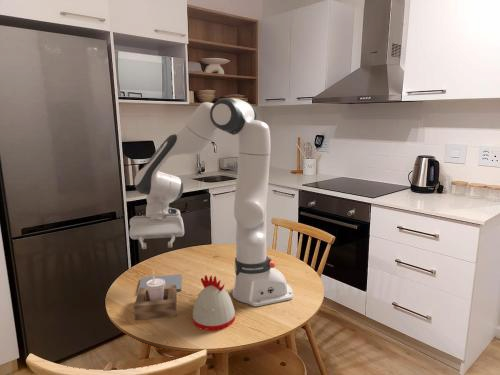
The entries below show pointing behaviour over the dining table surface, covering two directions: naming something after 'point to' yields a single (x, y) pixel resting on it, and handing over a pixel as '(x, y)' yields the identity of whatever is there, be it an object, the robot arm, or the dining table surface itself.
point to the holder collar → (156, 304)
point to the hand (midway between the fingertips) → (157, 247)
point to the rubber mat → (168, 281)
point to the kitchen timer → (213, 306)
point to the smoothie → (155, 288)
